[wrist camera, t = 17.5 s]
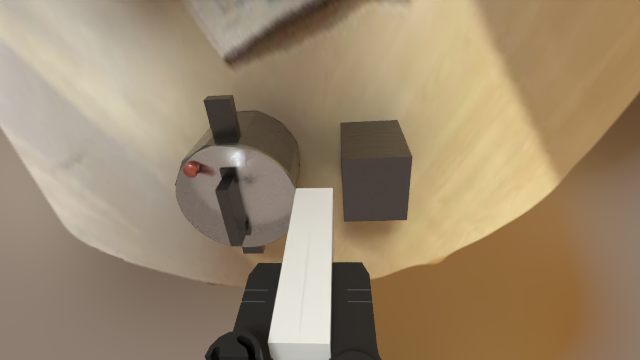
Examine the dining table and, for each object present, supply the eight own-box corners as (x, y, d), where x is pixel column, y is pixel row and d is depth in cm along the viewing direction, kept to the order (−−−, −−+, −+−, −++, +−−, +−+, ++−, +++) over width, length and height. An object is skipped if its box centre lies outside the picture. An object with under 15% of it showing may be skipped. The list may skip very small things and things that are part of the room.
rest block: (340, 122, 41) (341, 159, 33) (397, 120, 41) (412, 156, 33) (343, 177, 46) (344, 221, 37) (394, 175, 45) (406, 219, 37)
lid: (162, 145, 33) (143, 164, 30) (291, 140, 32) (285, 159, 29) (197, 243, 40) (184, 267, 36) (304, 240, 39) (300, 265, 35)
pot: (187, 81, 39) (147, 108, 31) (289, 74, 39) (276, 101, 30) (225, 216, 50) (203, 263, 42) (305, 214, 49) (299, 261, 41)
